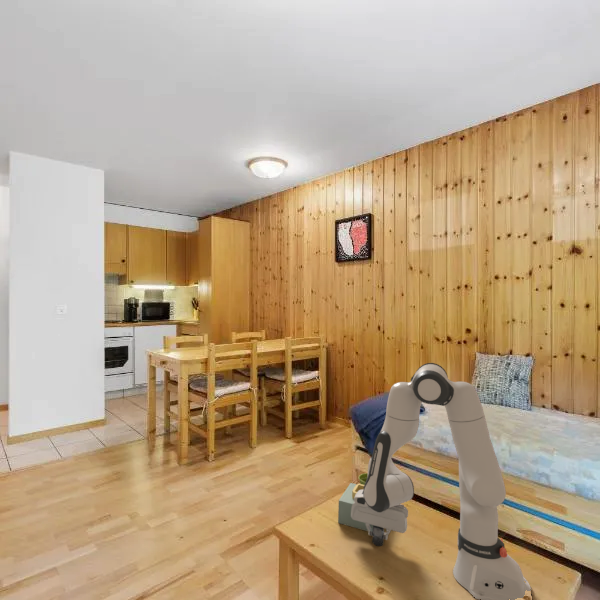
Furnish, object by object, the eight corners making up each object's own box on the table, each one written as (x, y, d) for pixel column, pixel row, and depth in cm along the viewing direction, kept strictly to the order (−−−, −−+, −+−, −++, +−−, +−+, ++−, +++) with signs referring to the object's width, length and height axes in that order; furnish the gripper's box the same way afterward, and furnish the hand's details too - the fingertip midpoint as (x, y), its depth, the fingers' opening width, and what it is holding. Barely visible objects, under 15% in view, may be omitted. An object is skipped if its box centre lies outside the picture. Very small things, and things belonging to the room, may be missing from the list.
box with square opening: (386, 512, 162) (387, 485, 162) (378, 534, 147) (379, 504, 147) (349, 503, 168) (350, 477, 168) (338, 522, 154) (338, 494, 154)
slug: (384, 540, 143) (384, 524, 143) (382, 547, 140) (382, 530, 139) (373, 537, 145) (374, 521, 145) (371, 544, 141) (371, 527, 141)
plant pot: (374, 505, 168) (375, 485, 167) (354, 498, 173) (355, 479, 173) (382, 496, 175) (383, 476, 175) (363, 489, 181) (363, 471, 180)
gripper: (409, 502, 141) (408, 539, 141) (354, 489, 149) (353, 524, 149) (406, 510, 135) (405, 550, 135) (350, 496, 143) (349, 533, 143)
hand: (378, 536), depth 142 cm, fingers closed on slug, 4 cm apart
